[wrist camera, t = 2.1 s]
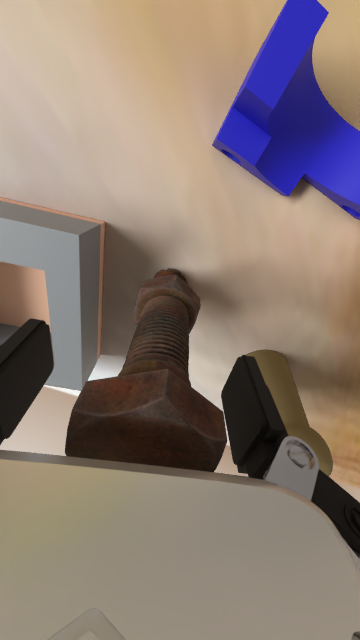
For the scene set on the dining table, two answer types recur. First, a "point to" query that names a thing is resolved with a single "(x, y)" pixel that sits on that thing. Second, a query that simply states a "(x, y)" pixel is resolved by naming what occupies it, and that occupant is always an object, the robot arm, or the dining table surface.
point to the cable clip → (292, 116)
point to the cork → (291, 404)
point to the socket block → (53, 284)
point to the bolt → (151, 392)
